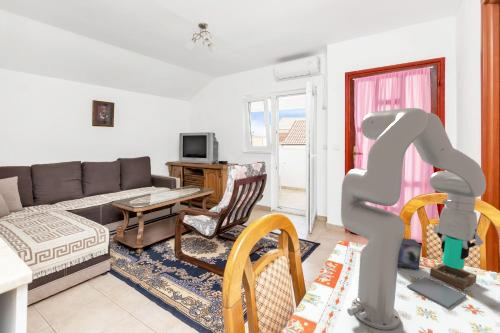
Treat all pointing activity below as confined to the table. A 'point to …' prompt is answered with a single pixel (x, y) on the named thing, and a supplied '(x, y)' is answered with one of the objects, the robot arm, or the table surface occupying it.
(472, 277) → the holder
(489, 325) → the table surface
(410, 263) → the small box
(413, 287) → the slate mat
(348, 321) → the table surface
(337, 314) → the table surface
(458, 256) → the candle
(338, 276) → the table surface
